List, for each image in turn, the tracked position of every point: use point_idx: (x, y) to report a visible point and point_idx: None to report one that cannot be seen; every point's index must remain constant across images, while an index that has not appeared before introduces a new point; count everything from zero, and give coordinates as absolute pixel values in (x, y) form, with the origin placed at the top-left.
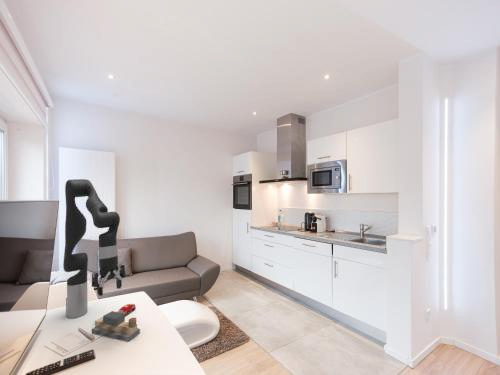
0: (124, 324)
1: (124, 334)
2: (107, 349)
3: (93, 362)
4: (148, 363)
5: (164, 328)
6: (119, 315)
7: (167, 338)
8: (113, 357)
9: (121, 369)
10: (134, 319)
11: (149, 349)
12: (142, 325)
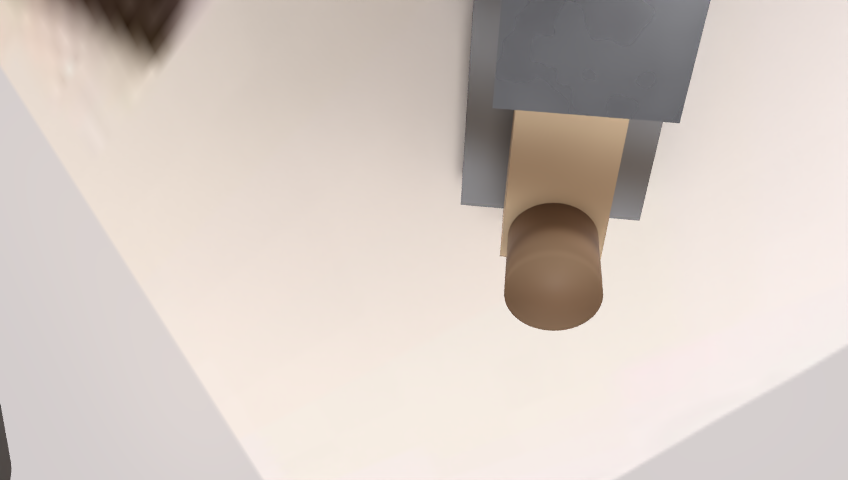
0: (565, 129)
1: (494, 136)
2: (295, 68)
3: (114, 90)
4: (295, 434)
5: (743, 355)
6: (599, 85)
7: (585, 429)
8: (238, 202)
9: (177, 330)
10: (554, 318)
11: (420, 381)
12: (806, 123)
